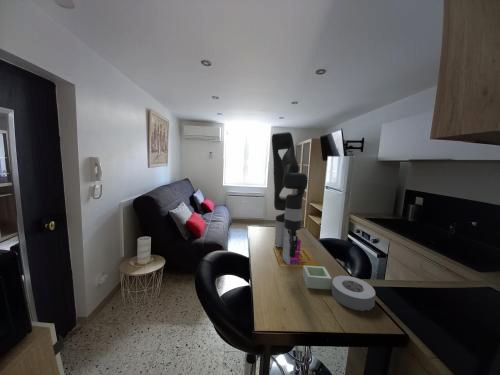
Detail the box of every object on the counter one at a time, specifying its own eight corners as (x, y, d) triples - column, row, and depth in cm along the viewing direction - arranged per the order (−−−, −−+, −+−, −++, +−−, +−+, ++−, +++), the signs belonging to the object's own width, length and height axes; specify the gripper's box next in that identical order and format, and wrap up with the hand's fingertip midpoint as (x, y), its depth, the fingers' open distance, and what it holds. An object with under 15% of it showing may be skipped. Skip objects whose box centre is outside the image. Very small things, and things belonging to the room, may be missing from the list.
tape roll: (363, 317, 67) (364, 304, 66) (323, 294, 79) (324, 282, 79) (381, 301, 76) (382, 289, 76) (343, 282, 88) (344, 271, 88)
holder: (302, 275, 93) (303, 265, 92) (323, 276, 92) (324, 266, 92) (307, 287, 83) (307, 276, 82) (330, 289, 82) (331, 278, 82)
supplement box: (287, 266, 84) (289, 241, 83) (282, 259, 90) (283, 236, 89) (299, 264, 86) (301, 239, 85) (293, 258, 92) (294, 235, 90)
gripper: (282, 213, 93) (281, 246, 95) (286, 221, 79) (284, 260, 80) (298, 214, 92) (296, 247, 94) (305, 222, 78) (302, 261, 80)
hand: (291, 253), depth 87 cm, fingers closed on supplement box, 7 cm apart
